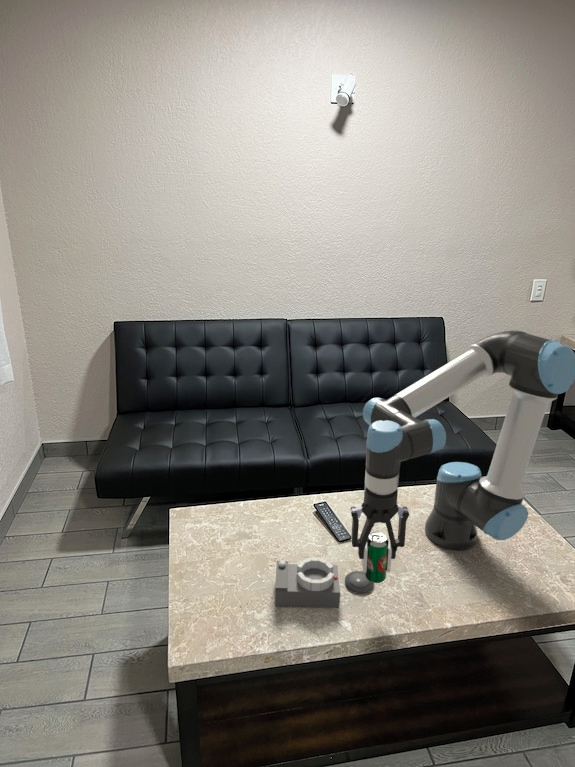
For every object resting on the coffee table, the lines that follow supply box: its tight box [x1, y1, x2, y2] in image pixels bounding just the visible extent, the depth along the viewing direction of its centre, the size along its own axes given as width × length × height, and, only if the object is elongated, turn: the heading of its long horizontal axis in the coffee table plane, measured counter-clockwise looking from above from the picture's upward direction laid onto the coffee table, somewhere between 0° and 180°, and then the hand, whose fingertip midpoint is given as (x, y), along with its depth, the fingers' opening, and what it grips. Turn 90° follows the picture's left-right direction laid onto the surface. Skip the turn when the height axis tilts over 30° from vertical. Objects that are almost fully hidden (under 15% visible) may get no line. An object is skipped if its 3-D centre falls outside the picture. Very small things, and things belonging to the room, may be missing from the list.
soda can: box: [365, 531, 390, 584], centre depth 130 cm, size 5×5×12 cm
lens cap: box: [344, 570, 375, 595], centre depth 142 cm, size 8×8×1 cm
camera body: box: [274, 557, 341, 609], centre depth 137 cm, size 16×10×8 cm, turn 89°
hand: (375, 568), depth 131 cm, fingers closed on soda can, 5 cm apart
